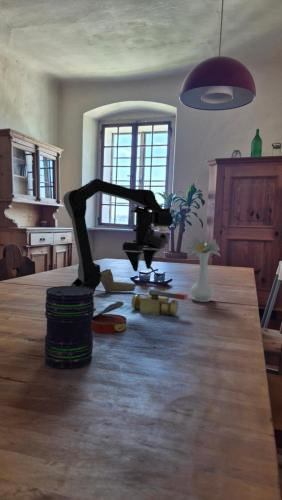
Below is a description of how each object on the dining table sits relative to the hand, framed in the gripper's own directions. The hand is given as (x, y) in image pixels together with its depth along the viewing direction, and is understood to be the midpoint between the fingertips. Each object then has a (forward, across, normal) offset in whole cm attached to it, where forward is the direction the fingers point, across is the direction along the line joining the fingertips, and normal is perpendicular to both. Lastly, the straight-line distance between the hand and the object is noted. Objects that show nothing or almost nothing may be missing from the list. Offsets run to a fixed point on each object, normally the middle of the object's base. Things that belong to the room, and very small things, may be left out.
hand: (142, 269), depth 121 cm
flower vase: (+13, +24, -14) cm, 31 cm away
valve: (+13, -5, -8) cm, 16 cm away
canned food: (+13, -29, -6) cm, 33 cm away
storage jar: (+13, -52, -12) cm, 55 cm away
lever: (+7, -5, -12) cm, 15 cm away
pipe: (+13, +15, +20) cm, 29 cm away
